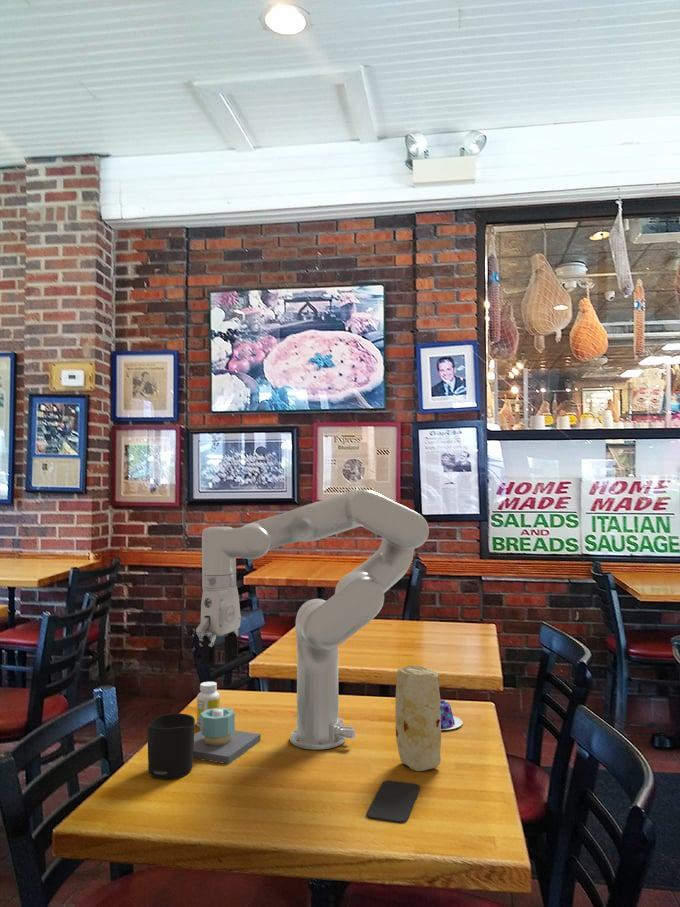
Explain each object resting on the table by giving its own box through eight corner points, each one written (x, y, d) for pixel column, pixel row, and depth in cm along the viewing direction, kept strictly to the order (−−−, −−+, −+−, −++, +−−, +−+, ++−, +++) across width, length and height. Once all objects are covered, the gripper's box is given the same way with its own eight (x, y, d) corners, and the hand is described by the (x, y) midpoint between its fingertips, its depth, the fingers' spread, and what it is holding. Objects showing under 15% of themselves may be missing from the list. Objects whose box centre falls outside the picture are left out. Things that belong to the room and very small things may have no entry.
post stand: (260, 740, 152) (260, 704, 153) (228, 764, 139) (229, 724, 140) (207, 733, 157) (207, 698, 158) (172, 754, 144) (172, 716, 145)
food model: (445, 764, 139) (444, 666, 140) (436, 776, 133) (435, 674, 134) (400, 756, 143) (400, 661, 144) (389, 768, 137) (389, 668, 138)
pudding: (419, 734, 157) (419, 711, 158) (408, 717, 169) (408, 696, 169) (469, 731, 159) (468, 709, 159) (454, 715, 170) (454, 694, 171)
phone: (364, 816, 116) (383, 779, 130) (364, 820, 116) (383, 783, 130) (406, 822, 114) (421, 784, 128) (406, 827, 114) (421, 788, 128)
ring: (239, 728, 150) (239, 710, 151) (222, 738, 144) (223, 719, 144) (212, 724, 153) (212, 706, 153) (195, 734, 146) (195, 716, 147)
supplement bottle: (222, 721, 165) (222, 680, 166) (215, 728, 160) (216, 687, 161) (200, 720, 166) (201, 680, 167) (193, 728, 161) (194, 686, 161)
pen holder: (138, 770, 136) (139, 720, 137) (181, 758, 142) (181, 710, 143) (158, 785, 129) (159, 732, 130) (202, 772, 135) (203, 721, 136)
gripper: (213, 588, 141) (214, 670, 140) (252, 577, 157) (253, 651, 156) (182, 586, 144) (183, 667, 143) (224, 576, 160) (225, 649, 159)
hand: (220, 659), depth 149 cm, fingers open, 9 cm apart
